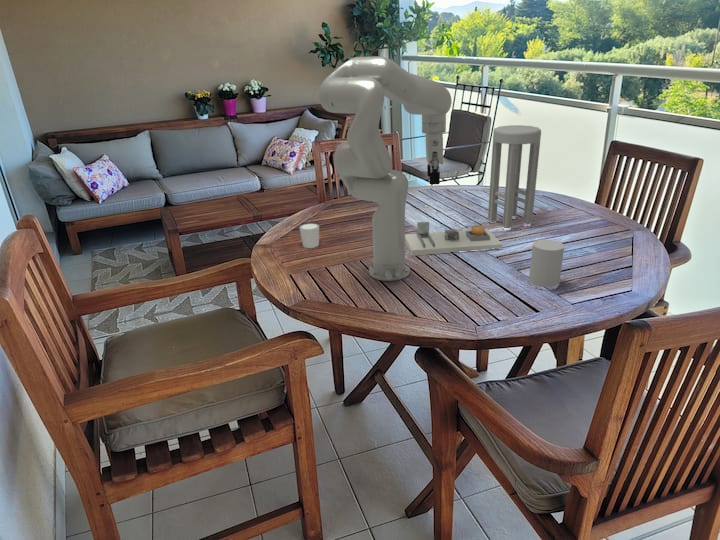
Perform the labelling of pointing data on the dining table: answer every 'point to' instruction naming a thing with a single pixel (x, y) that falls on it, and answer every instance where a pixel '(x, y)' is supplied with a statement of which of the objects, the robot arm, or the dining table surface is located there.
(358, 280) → the dining table surface
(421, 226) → the grey slider handle
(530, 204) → the stool
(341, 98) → the robot arm
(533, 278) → the cup
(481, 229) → the push button
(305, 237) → the shot glass
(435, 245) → the switch panel
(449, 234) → the rocker switch
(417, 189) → the dining table surface
